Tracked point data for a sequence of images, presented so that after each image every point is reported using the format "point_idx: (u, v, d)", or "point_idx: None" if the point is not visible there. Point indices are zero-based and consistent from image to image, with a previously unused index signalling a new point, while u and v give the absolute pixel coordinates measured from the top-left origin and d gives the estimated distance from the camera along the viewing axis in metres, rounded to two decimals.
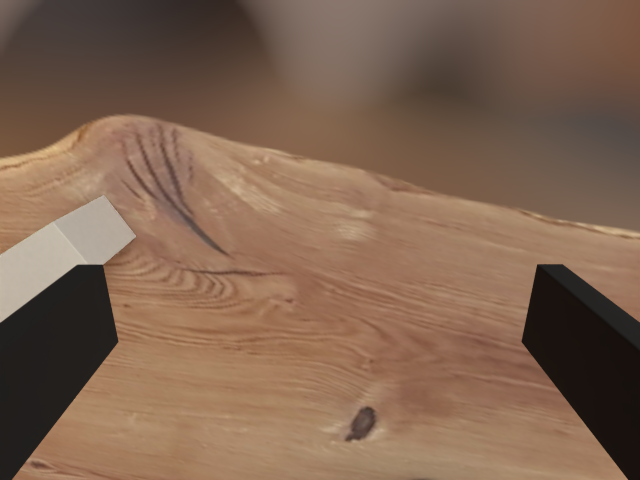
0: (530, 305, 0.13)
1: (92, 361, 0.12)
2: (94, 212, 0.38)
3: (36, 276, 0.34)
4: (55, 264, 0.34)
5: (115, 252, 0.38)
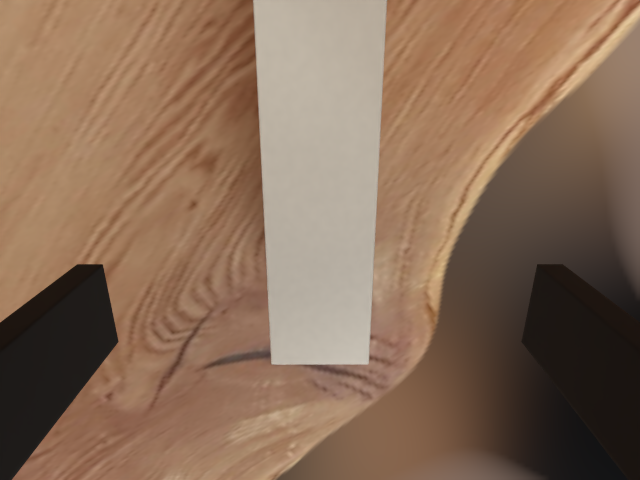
0: (530, 305, 0.13)
1: (92, 361, 0.12)
2: None
3: (311, 287, 0.20)
4: (312, 325, 0.20)
5: None
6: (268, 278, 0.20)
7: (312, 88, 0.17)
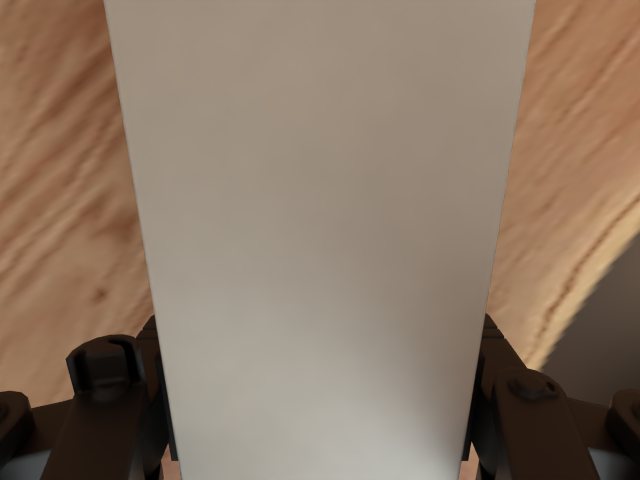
0: None
1: None
2: None
3: None
4: None
5: None
6: None
7: (297, 105, 0.05)
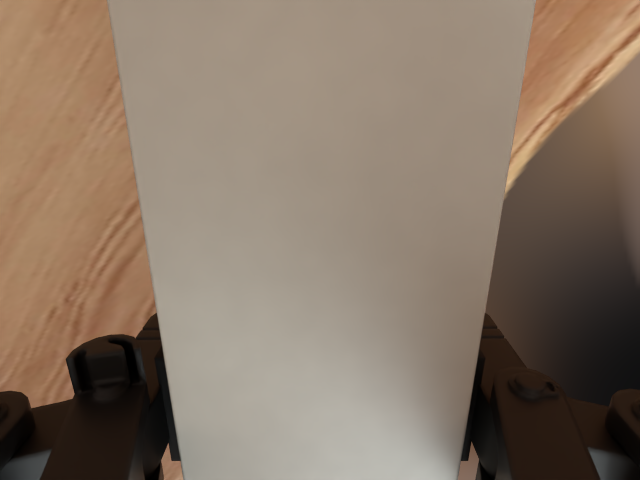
0: None
1: None
2: None
3: None
4: None
5: None
6: None
7: (299, 106, 0.05)
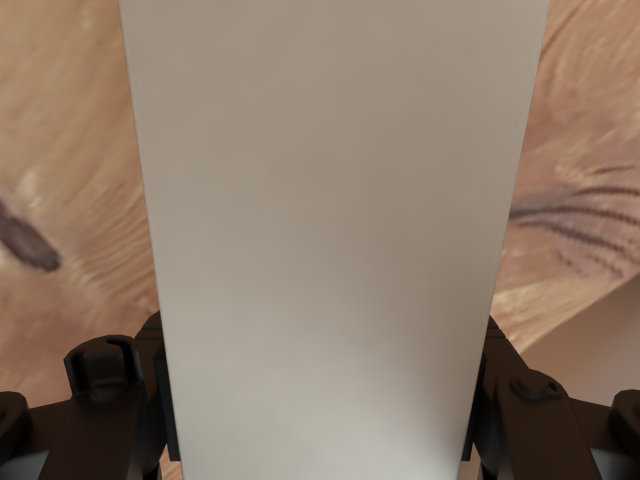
0: None
1: None
2: None
3: None
4: None
5: None
6: None
7: (308, 106, 0.05)
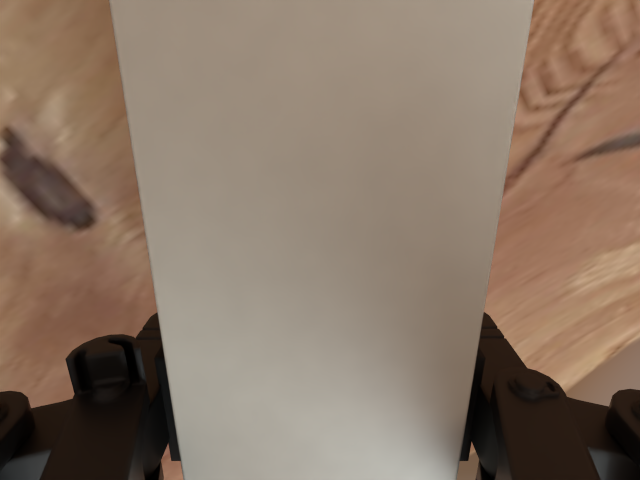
0: None
1: None
2: None
3: None
4: None
5: None
6: None
7: (299, 105, 0.05)
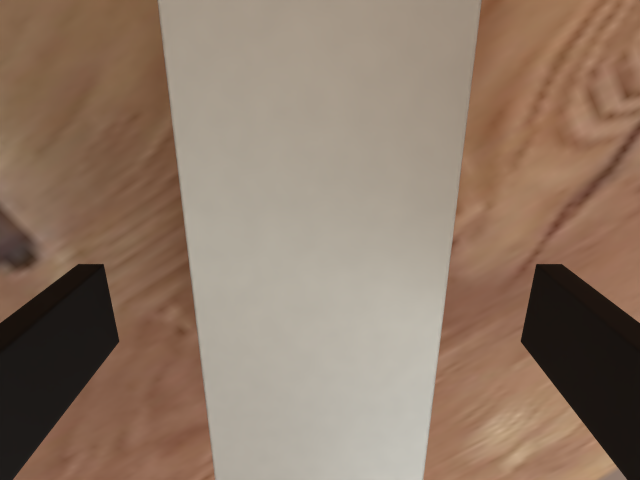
0: (529, 304, 0.13)
1: (93, 361, 0.12)
2: None
3: (301, 470, 0.10)
4: None
5: None
6: (214, 454, 0.10)
7: (302, 61, 0.07)
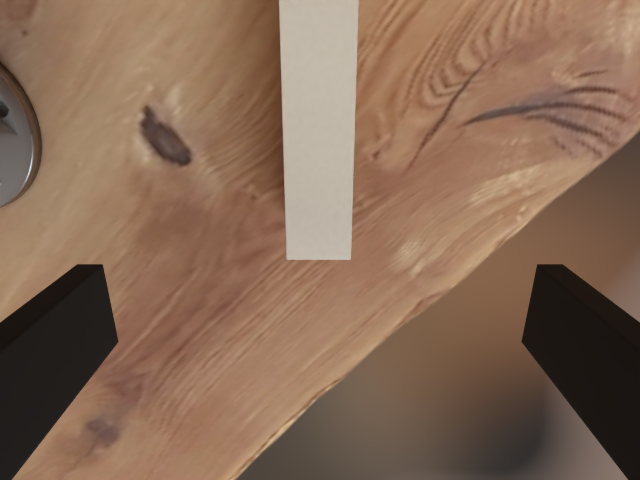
0: (530, 305, 0.13)
1: (92, 361, 0.12)
2: None
3: (313, 204, 0.31)
4: (313, 231, 0.31)
5: None
6: (285, 198, 0.31)
7: (314, 75, 0.28)
